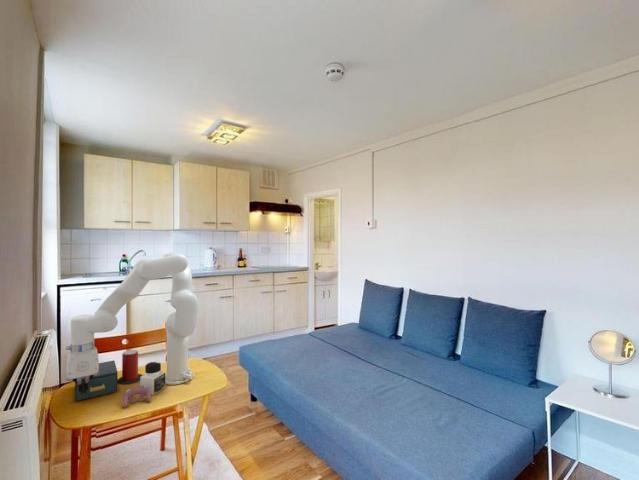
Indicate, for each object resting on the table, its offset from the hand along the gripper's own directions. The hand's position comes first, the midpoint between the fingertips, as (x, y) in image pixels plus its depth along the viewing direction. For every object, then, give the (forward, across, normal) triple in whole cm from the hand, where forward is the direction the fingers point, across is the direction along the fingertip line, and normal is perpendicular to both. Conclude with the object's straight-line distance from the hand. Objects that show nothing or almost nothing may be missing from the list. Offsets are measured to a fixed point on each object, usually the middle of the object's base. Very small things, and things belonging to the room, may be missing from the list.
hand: (83, 392), depth 127 cm
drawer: (+4, +4, +9) cm, 11 cm away
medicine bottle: (+6, +24, -2) cm, 25 cm away
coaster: (+5, +18, +15) cm, 24 cm away
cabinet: (+5, +4, +13) cm, 14 cm away
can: (+5, +18, +15) cm, 24 cm away
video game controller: (+6, +18, -10) cm, 21 cm away
